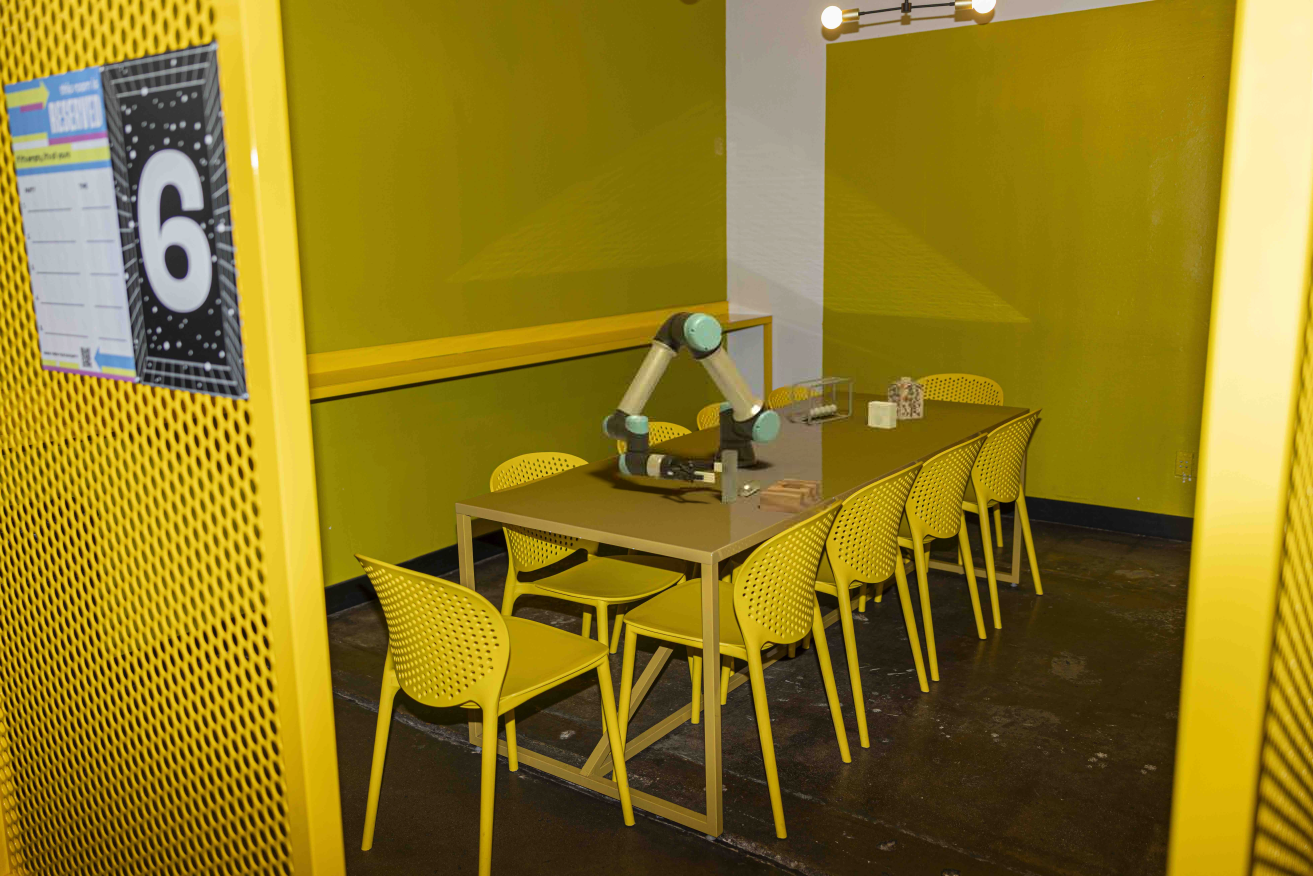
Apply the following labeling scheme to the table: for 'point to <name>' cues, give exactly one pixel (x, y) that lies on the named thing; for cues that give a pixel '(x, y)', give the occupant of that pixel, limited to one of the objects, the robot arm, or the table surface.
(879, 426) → the skincare box
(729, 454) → the square bit
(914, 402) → the decorative jar
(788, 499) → the holder block
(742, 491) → the round bit
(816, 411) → the newton's cradle
